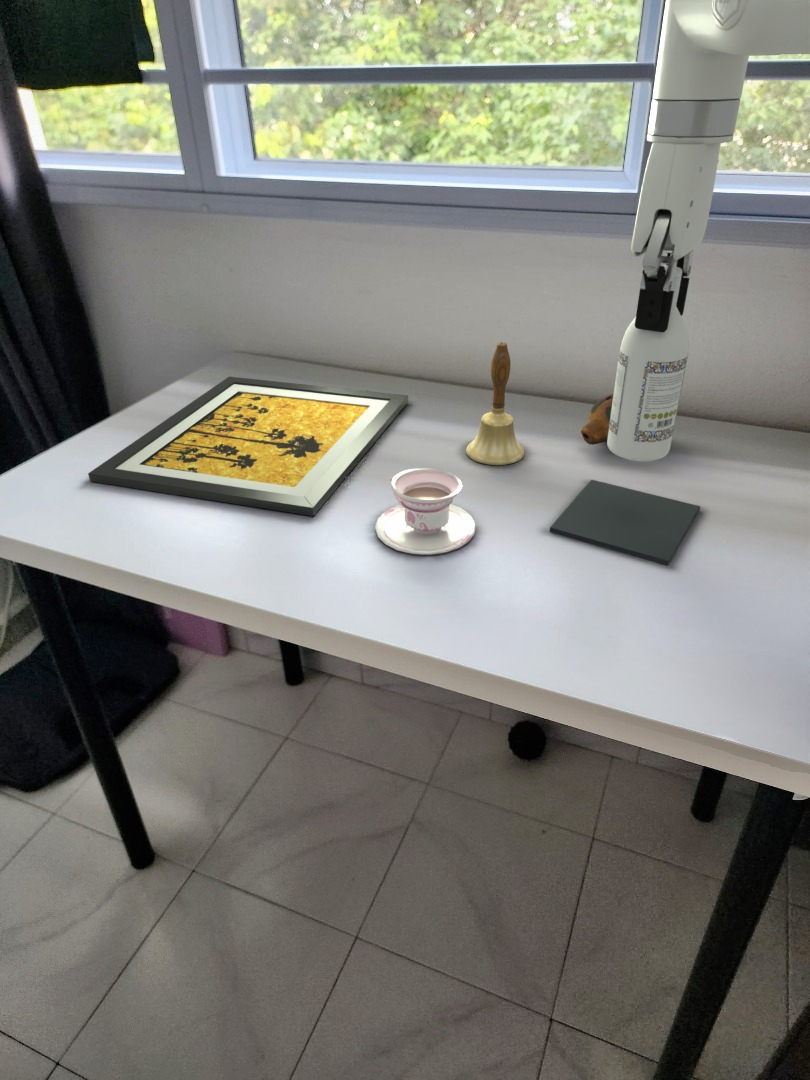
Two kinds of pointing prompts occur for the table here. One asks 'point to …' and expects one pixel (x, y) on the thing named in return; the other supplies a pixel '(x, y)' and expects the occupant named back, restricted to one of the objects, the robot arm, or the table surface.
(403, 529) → the teacup
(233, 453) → the picture frame
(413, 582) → the table surface
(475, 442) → the hand bell
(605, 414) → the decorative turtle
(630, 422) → the bath foam
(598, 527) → the mat
